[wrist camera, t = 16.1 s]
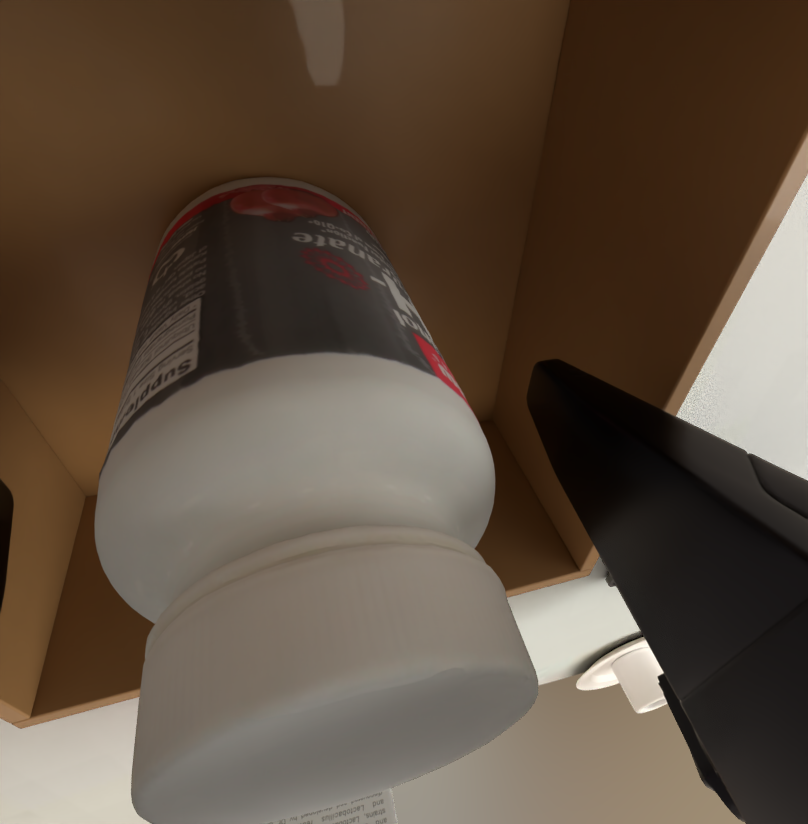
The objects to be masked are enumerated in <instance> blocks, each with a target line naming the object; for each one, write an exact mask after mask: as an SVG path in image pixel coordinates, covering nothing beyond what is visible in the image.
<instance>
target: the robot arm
mask: <svg viewBox="0 0 808 824" xmlns="http://www.w3.org/2000/svg"><path fill="white" fill-rule="evenodd" d="M526 400H527V406H528V409H529V411H530V414H531V416H532V419H533V421H534V424H535V426H536V429H537V431H538V434H539V436H540V439H541V441H542V443H543V446H544V448H545V451H546V453H547V456H548V458H549V461H550V463H551V465H552V468H553V470H554V472H555V474H556V476H557V478H558V480H559V482H560V484H561V486H562V488H563V490H564V491H565V493H566V495H567V497H568V499H569V501H570V502H571V504H572V506H573V508H574V510H575V512H576V513H577V515H578V517H579V519H580V521H581V523H582V524H583V526H584V528H585V530H586V532H587V533H588V535H589V537H590V539H591V541H592V543H593V544H594V546H595V548H596V550H597V552H598V554H599V555H600V557H601V559H602V561H603V563H604V565H605V566H606V568H607V570H608V572H609V574H608V576H607V578H606V582H607V583H608V585H609V586H610V587H613V586H616V587H617V588H618V590H619V592H620V594H621V596H622V597H623V599H624V601H625V603H626V605H627V607H628V608H629V610H630V612H631V614H632V616H633V618H634V619H635V621H636V623H637V625H638V627H639V629H640V630H641V632H642V634H643V636H644V638H645V640H646V641H647V643H648V645H649V647H650V649H651V651H652V652H653V654H654V656H655V658H656V660H657V661H658V663H659V665H660V667H661V669H662V671H663V672H664V673H663V674H661V675H659V676H657V677H658V680H659V683H658V684H659V686H660V688H661V689H662V691H663V695H664V697H665V699H666V701H667V703H668V705H669V707H670V709H671V711H672V713H673V715H674V717H675V720H676V722H677V724H678V726H679V728H680V730H681V732H682V734H683V736H684V738H685V740H686V742H687V744H688V746H689V749H690V751H691V754H692V757H693V759H694V762H695V765H696V767H697V770H698V773H699V775H700V778H701V780H702V781H703V783H704V784H705V786H706V787H708V788H710V789H711V790H713V791H715V792H716V793H717V794H718V796H719V797H720V798H721V800H722V801H723V802H724V804H725V805H726V806H727V807H728V808H729V810H730V811H731V812H732V813H733V814H734V815H735V816H736V817H737V818H738V819H740V820H741V821H743V822H745V823H746V824H808V481H807V480H805V479H803V478H801V477H799V476H797V475H795V474H792V473H790V472H788V471H786V470H784V469H782V468H780V467H778V466H776V465H773V464H771V463H769V462H767V461H765V460H763V459H761V458H759V457H757V456H755V455H753V454H747V452H746V451H745V450H743V449H741V448H739V447H737V446H735V445H733V444H731V443H729V442H727V441H725V440H723V439H721V438H719V437H717V436H715V435H713V434H710V433H708V432H706V431H704V430H702V429H700V428H698V427H696V426H694V425H692V424H690V423H688V422H686V421H684V420H682V419H680V418H678V417H676V416H674V415H672V414H670V413H668V412H666V411H664V410H662V409H660V408H658V407H656V406H654V405H652V404H650V403H648V402H645V401H643V400H641V399H639V398H637V397H635V396H633V395H631V394H629V393H627V392H625V391H623V390H621V389H619V388H617V387H615V386H613V385H611V384H609V383H607V382H605V381H603V380H601V379H599V378H597V377H595V376H593V375H591V374H589V373H587V372H585V371H583V370H580V369H578V368H576V367H574V366H572V365H570V364H568V363H566V362H564V361H562V360H560V359H549V360H543V361H539V362H537V363H536V364H535V365H534V367H533V370H532V374H531V378H530V383H529V387H528V391H527V396H526ZM13 510H14V499H13V495H12V493H11V491H10V489H9V488H8V487H7V485H6V484H5V483H4V482H3V481H2V480H1V479H0V613H1V608H2V603H3V598H4V592H5V586H6V578H7V568H8V559H9V549H10V539H11V529H12V520H13Z"/></svg>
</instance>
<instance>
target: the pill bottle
mask: <svg viewBox="0 0 808 824" xmlns="http://www.w3.org/2000/svg"><path fill="white" fill-rule="evenodd" d="M494 496H495V469H494V463H493V458H492V454H491V451H490V448H489V445H488V442H487V439H486V437H485V435H484V433H483V431H482V429H481V427H480V424H479V422H478V420H477V418H476V416H475V414H474V412H473V410H472V409H471V407H470V405H469V404H468V402H467V400H466V398H465V396H464V394H463V392H462V390H461V389H460V387H459V385H458V384H457V382H456V380H455V378H454V376H453V374H452V373H451V371H450V370H449V368H448V367H447V365H446V363H445V361H444V359H443V357H442V355H441V353H440V352H439V350H438V348H437V347H436V345H435V343H434V342H433V340H432V337H431V335H430V333H429V331H428V330H427V328H426V326H425V325H424V323H423V321H422V319H421V317H420V316H419V314H418V312H417V310H416V308H415V307H414V305H413V303H412V301H411V299H410V297H409V295H408V293H407V292H406V290H405V288H404V286H403V284H402V282H401V280H400V279H399V277H398V275H397V273H396V271H395V269H394V267H393V265H392V264H391V262H390V260H389V258H388V256H387V254H386V252H385V251H384V249H383V248H382V246H381V244H380V243H379V241H378V239H377V238H376V236H375V234H374V233H373V231H372V230H371V229H370V227H369V226H368V225H367V223H366V222H365V221H364V220H363V219H362V217H361V216H360V215H359V214H358V213H356V212H355V211H354V210H353V209H352V208H351V207H350V206H349V205H347V204H346V203H345V202H343V201H342V200H341V199H339V198H338V197H336V196H334V195H333V194H331V193H329V192H327V191H325V190H323V189H321V188H319V187H316V186H314V185H311V184H308V183H305V182H303V181H299V180H293V179H288V178H276V177H258V178H247V179H239V180H234V181H231V182H228V183H225V184H222V185H219V186H217V187H215V188H212V189H210V190H208V191H207V192H205V193H204V194H202V195H201V196H199V197H198V198H196V199H195V200H193V201H192V202H191V203H189V204H188V205H187V206H186V207H185V208H184V209H183V210H182V211H181V212H180V213H179V214H178V215H177V217H176V218H175V219H174V220H173V221H172V222H171V223H170V225H169V227H168V228H167V230H166V231H165V233H164V235H163V237H162V239H161V241H160V244H159V246H158V249H157V252H156V255H155V259H154V262H153V267H152V270H151V273H150V276H149V280H148V284H147V289H146V292H145V296H144V300H143V304H142V308H141V314H140V318H139V321H138V325H137V330H136V335H135V339H134V343H133V347H132V352H131V357H130V362H129V367H128V371H127V375H126V378H125V382H124V386H123V390H122V394H121V399H120V403H119V407H118V411H117V414H116V418H115V422H114V427H113V432H112V435H111V439H110V444H109V448H108V452H107V455H106V458H105V461H104V464H103V466H102V469H101V471H100V473H99V486H98V496H97V503H96V510H95V523H94V526H95V543H96V549H97V553H98V556H99V559H100V562H101V565H102V568H103V570H104V572H105V574H106V575H107V577H108V579H109V581H110V583H111V584H112V586H113V587H114V589H115V590H116V591H117V592H118V594H119V595H120V596H121V597H122V598H123V599H124V600H125V602H126V603H127V604H129V605H130V606H131V607H132V608H133V609H134V610H135V611H137V612H138V613H139V614H141V615H142V616H143V617H145V618H146V619H148V620H150V621H151V622H153V623H154V624H155V625H154V627H153V628H152V630H151V631H150V633H149V635H148V637H147V642H146V649H145V662H144V665H143V672H142V681H141V689H140V698H139V706H138V716H137V726H136V737H135V747H134V757H133V767H132V783H131V796H132V803H133V806H134V808H135V810H136V812H137V814H138V815H139V816H140V817H142V818H143V819H145V820H146V821H148V822H150V823H152V824H263V823H270V822H275V821H279V820H282V819H287V818H291V817H296V816H300V815H304V814H308V813H312V812H316V811H320V810H323V809H327V808H331V807H334V806H338V805H341V804H345V803H349V802H352V801H355V800H358V799H361V798H364V797H367V796H370V795H373V794H376V793H379V792H382V791H385V790H387V789H390V788H393V787H395V786H398V785H401V784H403V783H406V782H408V781H411V780H414V779H416V778H418V777H421V776H423V775H425V774H427V773H430V772H432V771H434V770H437V769H439V768H441V767H444V766H446V765H448V764H450V763H452V762H454V761H456V760H458V759H460V758H462V757H464V756H465V755H468V754H469V753H471V752H473V751H475V750H477V749H479V748H481V747H482V746H484V745H486V744H487V743H489V742H490V741H492V740H493V739H495V738H496V737H497V736H499V735H500V734H502V733H503V732H504V731H506V730H507V729H508V728H509V727H511V726H512V725H513V724H514V723H516V722H517V721H518V720H519V719H520V718H522V717H523V716H524V715H525V714H526V713H527V711H528V710H529V709H530V708H531V707H532V705H533V704H534V702H535V700H536V698H537V695H538V679H537V675H536V671H535V669H534V666H533V664H532V661H531V659H530V656H529V654H528V651H527V649H526V646H525V644H524V641H523V639H522V636H521V634H520V631H519V629H518V627H517V624H516V621H515V619H514V616H513V614H512V611H511V609H510V606H509V603H508V600H507V596H506V592H505V588H504V586H503V584H502V582H501V580H500V578H499V577H498V576H497V574H496V573H495V572H494V571H493V569H492V568H491V567H490V566H488V565H486V563H485V561H484V559H483V558H482V556H481V555H480V554H479V553H478V552H477V551H476V550H475V547H476V546H477V544H478V543H479V541H480V539H481V537H482V536H483V534H484V532H485V529H486V527H487V525H488V522H489V519H490V515H491V512H492V508H493V504H494Z"/></svg>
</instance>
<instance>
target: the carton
mask: <svg viewBox="0 0 808 824" xmlns="http://www.w3.org/2000/svg"><path fill="white" fill-rule="evenodd" d="M807 174H808V0H0V479H1V480H2V481H3V482H4V483H5V484H6V485H7V487H8V488H9V489H10V491H11V493H12V495H13V499H14V510H13V520H12V529H11V539H10V549H9V559H8V568H7V578H6V586H5V592H4V598H3V603H2V608H1V613H0V718H1V719H3V720H5V721H7V722H9V723H12V725H14V726H16V727H18V728H21V729H22V728H25V727H29V726H33V725H36V724H40V723H44V722H47V721H51V720H55V719H59V718H62V717H66V716H70V715H73V714H77V713H81V712H85V711H88V710H92V709H96V708H99V707H103V706H107V705H110V704H114V703H118V702H122V701H125V700H129V699H133V698H136V697H140V689H141V681H142V672H143V665H144V662H145V649H146V642H147V637H148V635H149V633H150V631H151V630H152V628H153V627H154V625H155V624H154V623H153V622H151V621H150V620H148V619H146V618H145V617H143V616H142V615H141V614H139V613H138V612H137V611H135V610H134V609H133V608H132V607H131V606H130V605H129V604H127V603H126V602H125V600H124V599H123V598H122V597H121V596H120V595H119V594H118V592H117V591H116V590H115V589H114V587H113V586H112V584H111V583H110V581H109V579H108V577H107V575H106V574H105V572H104V570H103V568H102V565H101V562H100V559H99V556H98V553H97V549H96V543H95V526H94V523H95V510H96V503H97V496H98V486H99V473H100V471H101V469H102V466H103V464H104V461H105V458H106V455H107V452H108V448H109V444H110V439H111V435H112V432H113V427H114V422H115V418H116V414H117V411H118V407H119V403H120V399H121V394H122V390H123V386H124V382H125V378H126V375H127V371H128V367H129V362H130V357H131V352H132V347H133V343H134V339H135V335H136V330H137V325H138V321H139V318H140V314H141V308H142V304H143V300H144V296H145V292H146V289H147V284H148V280H149V276H150V273H151V270H152V267H153V262H154V259H155V255H156V252H157V249H158V246H159V244H160V241H161V239H162V237H163V235H164V233H165V231H166V230H167V228H168V227H169V225H170V223H171V222H172V221H173V220H174V219H175V218H176V217H177V215H178V214H179V213H180V212H181V211H182V210H183V209H184V208H185V207H186V206H187V205H188V204H189V203H191V202H192V201H193V200H195V199H196V198H198V197H199V196H201V195H202V194H204V193H205V192H207V191H208V190H210V189H212V188H215V187H217V186H219V185H222V184H225V183H228V182H231V181H234V180H239V179H247V178H258V177H276V178H288V179H293V180H299V181H303V182H305V183H308V184H311V185H314V186H316V187H319V188H321V189H323V190H325V191H327V192H329V193H331V194H333V195H334V196H336V197H338V198H339V199H341V200H342V201H343V202H345V203H346V204H347V205H349V206H350V207H351V208H352V209H353V210H354V211H355V212H356V213H358V214H359V215H360V216H361V217H362V219H363V220H364V221H365V222H366V223H367V225H368V226H369V227H370V229H371V230H372V231H373V233H374V234H375V236H376V238H377V239H378V241H379V243H380V244H381V246H382V248H383V249H384V251H385V252H386V254H387V256H388V258H389V260H390V262H391V264H392V265H393V267H394V269H395V271H396V273H397V275H398V277H399V279H400V280H401V282H402V284H403V286H404V288H405V290H406V292H407V293H408V295H409V297H410V299H411V301H412V303H413V305H414V307H415V308H416V310H417V312H418V314H419V316H420V317H421V319H422V321H423V323H424V325H425V326H426V328H427V330H428V331H429V333H430V335H431V337H432V340H433V342H434V343H435V345H436V347H437V348H438V350H439V352H440V353H441V355H442V357H443V359H444V361H445V363H446V365H447V367H448V368H449V370H450V371H451V373H452V374H453V376H454V378H455V380H456V382H457V384H458V385H459V387H460V389H461V390H462V392H463V394H464V396H465V398H466V400H467V402H468V404H469V405H470V407H471V409H472V410H473V412H474V414H475V416H476V418H477V420H478V422H479V424H480V427H481V429H482V431H483V433H484V435H485V437H486V439H487V442H488V445H489V448H490V451H491V454H492V458H493V463H494V469H495V496H494V504H493V508H492V512H491V515H490V519H489V522H488V525H487V527H486V529H485V532H484V534H483V536H482V537H481V539H480V541H479V543H478V544H477V546H476V547H475V550H476V551H477V552H478V553H479V554H480V555H481V556H482V558H483V559H484V561H485V563H486V565H488V566H490V567H491V568H492V569H493V571H494V572H495V573H496V574H497V576H498V577H499V578H500V580H501V582H502V584H503V586H504V588H505V592H506V596H507V597H511V596H515V595H518V594H522V593H526V592H529V591H533V590H537V589H540V588H544V587H548V586H552V585H555V584H559V583H563V582H566V581H570V580H574V579H578V578H581V577H585V576H589V574H590V573H591V571H592V568H593V567H594V565H595V563H596V562H597V560H598V558H599V556H600V555H599V554H598V552H597V550H596V548H595V546H594V544H593V543H592V541H591V539H590V537H589V535H588V533H587V532H586V530H585V528H584V526H583V524H582V523H581V521H580V519H579V517H578V515H577V513H576V512H575V510H574V508H573V506H572V504H571V502H570V501H569V499H568V497H567V495H566V493H565V491H564V490H563V488H562V486H561V484H560V482H559V480H558V478H557V476H556V474H555V472H554V470H553V468H552V465H551V463H550V461H549V458H548V456H547V453H546V451H545V448H544V446H543V443H542V441H541V439H540V436H539V434H538V431H537V429H536V426H535V424H534V421H533V419H532V416H531V414H530V411H529V409H528V406H527V400H526V396H527V391H528V387H529V383H530V378H531V374H532V370H533V367H534V365H535V364H536V363H537V362H539V361H543V360H549V359H560V360H562V361H564V362H566V363H568V364H570V365H572V366H574V367H576V368H578V369H580V370H583V371H585V372H587V373H589V374H591V375H593V376H595V377H597V378H599V379H601V380H603V381H605V382H607V383H609V384H611V385H613V386H615V387H617V388H619V389H621V390H623V391H625V392H627V393H629V394H631V395H633V396H635V397H637V398H639V399H641V400H643V401H645V402H648V403H650V404H652V405H654V406H656V407H658V408H660V409H662V410H664V411H666V412H668V413H670V414H672V415H674V416H676V415H677V413H678V411H679V409H680V407H681V405H682V404H683V402H684V400H685V398H686V396H687V394H688V393H689V391H690V389H691V387H692V385H693V383H694V382H695V380H696V378H697V376H698V374H699V372H700V370H701V369H702V367H703V365H704V363H705V361H706V359H707V358H708V356H709V354H710V352H711V350H712V348H713V347H714V345H715V343H716V341H717V339H718V337H719V336H720V334H721V332H722V330H723V328H724V326H725V325H726V323H727V321H728V319H729V317H730V315H731V314H732V312H733V310H734V308H735V306H736V304H737V302H738V301H739V299H740V297H741V295H742V293H743V291H744V290H745V288H746V286H747V284H748V282H749V280H750V279H751V277H752V275H753V273H754V271H755V269H756V268H757V266H758V264H759V262H760V260H761V258H762V257H763V255H764V253H765V251H766V249H767V247H768V246H769V244H770V242H771V240H772V238H773V236H774V235H775V233H776V231H777V229H778V227H779V225H780V223H781V222H782V220H783V218H784V216H785V214H786V212H787V211H788V209H789V207H790V205H791V203H792V201H793V200H794V198H795V196H796V194H797V192H798V190H799V189H800V187H801V185H802V183H803V181H804V179H805V178H806V176H807Z"/></svg>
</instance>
